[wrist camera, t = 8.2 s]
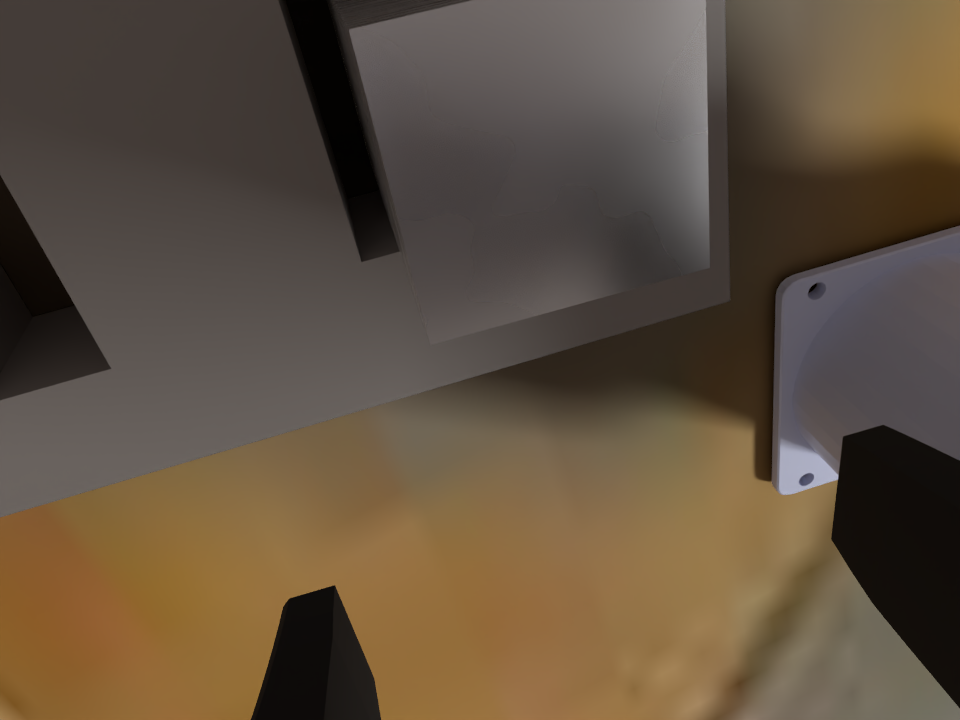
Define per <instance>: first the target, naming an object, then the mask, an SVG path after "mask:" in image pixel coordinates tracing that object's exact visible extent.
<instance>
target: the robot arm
mask: <svg viewBox="0 0 960 720" xmlns="http://www.w3.org/2000/svg"><path fill="white" fill-rule="evenodd" d="M816 283H817V286H816V288H815V289H814V290H813V291H811V292H810V293H808V292H809V289H810V288H811V287H812V285H814V284H816ZM834 480H838V485H837V493H836V502H835V511H834V520H833V529H832V538H831V539H832V541H833V543H834V544H835V546H836V547H837V549H838V551H839V552H840V554H841V555H842V557H843V559H844V560H845V562H846V563H847V565H848V567H849V568H850V570H851V571H852V573H853V575H854V576H855V578H856V579H857V581H858V582H859V584H860V585H861V587H862V588H863V590H864V591H865V592H866V594H867V595H868V597H869V598H870V600H871V601H872V603H873V604H874V605H875V607H876V608H877V609H878V610H879V612H880V613H881V614H882V615H883V617H884V618H885V619H886V620H887V622H888V623H889V624H890V625H891V626H892V628H893V629H894V630H895V631H896V632H897V634H898V635H899V636H900V637H901V639H902V640H903V641H904V642H905V643H906V645H907V646H908V647H909V648H910V649H911V651H912V652H913V653H914V654H915V655H916V657H917V658H918V659H919V660H920V661H921V663H922V664H923V665H924V666H925V667H926V669H927V670H928V671H929V672H930V673H931V674H932V676H933V677H934V678H935V679H936V680H937V682H938V683H939V684H940V685H941V686H942V688H943V689H944V690H945V691H946V692H947V694H948V695H949V696H950V697H951V698H952V700H953V701H954V702H955V703H956V704H957V705H958V707H959V708H960V226H956V227H953V228H950V229H946V230H943V231H939V232H936V233H933V234H929V235H926V236H922V237H919V238H916V239H912V240H909V241H906V242H902V243H899V244H895V245H892V246H889V247H885V248H882V249H878V250H875V251H872V252H868V253H865V254H862V255H858V256H855V257H851V258H848V259H845V260H841V261H838V262H834V263H831V264H828V265H824V266H821V267H818V268H814V269H811V270H807V271H804V272H801V273H797V274H794V275H792V276H789V277H787V278H786V279H785V280H784V281H783V282H781V284H780V285H779V287H778V289H777V292H776V304H775V351H774V398H773V445H772V485H773V487H774V488H775V489H776V490H777V491H778V492H779V493H780V494H782V495H790V494H794V493H797V492H800V491H803V490H806V489H809V488H813V487H816V486H819V485H822V484H825V483H828V482H831V481H834ZM251 720H381V717H380V711H379V705H378V699H377V693H376V687H375V681H374V677H373V675H372V672H371V670H370V667H369V665H368V663H367V660H366V658H365V656H364V653H363V651H362V649H361V646H360V644H359V641H358V639H357V637H356V634H355V632H354V630H353V627H352V625H351V623H350V620H349V618H348V615H347V613H346V611H345V608H344V606H343V604H342V601H341V599H340V597H339V594H338V592H337V589H336V587H335V585H334V586H331V587H327V588H324V589H320V590H317V591H314V592H310V593H307V594H303V595H300V596H297V597H293V598H290V599H289V600H288V601H287V602H286V604H285V605H284V607H283V610H282V614H281V619H280V623H279V627H278V631H277V635H276V638H275V642H274V646H273V649H272V653H271V657H270V660H269V664H268V667H267V670H266V674H265V677H264V680H263V684H262V687H261V690H260V693H259V696H258V700H257V703H256V706H255V709H254V712H253V715H252V718H251Z"/></svg>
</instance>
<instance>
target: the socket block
mask: <svg viewBox="0 0 960 720" xmlns="http://www.w3.org/2000/svg"><path fill="white" fill-rule="evenodd" d="M706 39H707V108H708V176H709V245H710V268H708V269H704V270H701V271H697V272H693V273H690V274H686V275H683V276H679V277H675V278H672V279H668V280H664V281H661V282H657V283H654V284H650V285H646V286H643V287H639V288H635V289H632V290H628V291H625V292H621V293H617V294H614V295H610V296H606V297H603V298H599V299H596V300H592V301H588V302H585V303H581V304H577V305H574V306H570V307H567V308H563V309H559V310H556V311H552V312H548V313H545V314H541V315H538V316H534V317H530V318H527V319H523V320H519V321H516V322H512V323H509V324H505V325H501V326H498V327H494V328H490V329H487V330H483V331H480V332H476V333H472V334H469V335H465V336H461V337H458V338H454V339H451V340H447V341H443V342H440V343H436V344H432V345H430V342H429V339H428V336H427V333H426V330H425V327H424V324H423V321H422V318H421V315H420V312H419V309H418V306H417V303H416V300H415V297H414V294H413V291H412V288H411V285H410V282H409V279H408V276H407V273H406V270H405V267H404V264H403V261H402V257H401V254H400V251H399V248H398V245H397V242H396V239H395V236H394V233H393V230H392V227H391V224H390V221H389V218H388V215H387V212H386V209H385V206H384V203H383V200H382V197H381V194H380V191H379V190H378V191H375V192H371V193H368V194H364V195H360V196H357V197H353V198H349V199H348V198H347V195H346V192H345V189H344V185H343V182H342V179H341V176H340V173H339V169H338V166H337V163H336V160H335V157H334V153H333V150H332V147H331V144H330V141H329V137H328V134H327V131H326V128H325V125H324V122H323V118H322V115H321V112H320V109H319V106H318V102H317V99H316V96H315V93H314V90H313V86H312V83H311V80H310V77H309V74H308V70H307V67H306V64H305V61H304V58H303V54H302V51H301V48H300V45H299V42H298V38H297V35H296V32H295V29H294V26H293V23H292V19H291V16H290V13H289V10H288V7H287V3H286V0H0V175H1V177H2V179H3V181H4V182H5V184H6V186H7V188H8V189H9V191H10V193H11V194H12V196H13V198H14V200H15V201H16V203H17V205H18V207H19V208H20V210H21V212H22V214H23V215H24V217H25V219H26V221H27V222H28V224H29V226H30V228H31V229H32V231H33V233H34V235H35V236H36V238H37V240H38V242H39V243H40V245H41V247H42V249H43V250H44V252H45V254H46V256H47V257H48V259H49V261H50V263H51V264H52V266H53V268H54V270H55V271H56V273H57V275H58V277H59V278H60V280H61V282H62V284H63V285H64V287H65V289H66V291H67V292H68V294H69V296H70V298H71V299H72V301H73V303H74V304H75V305H74V306H71V307H67V308H64V309H60V310H56V311H53V312H49V313H46V314H42V315H38V316H35V317H32V315H31V313H30V312H29V310H28V308H27V307H26V305H25V303H24V302H23V300H22V299H21V297H20V295H19V294H18V292H17V290H16V289H15V287H14V286H13V284H12V282H11V281H10V279H9V277H8V276H7V274H6V273H5V271H4V269H3V268H2V266H1V264H0V517H3V516H6V515H10V514H13V513H16V512H20V511H23V510H27V509H30V508H33V507H37V506H40V505H43V504H47V503H50V502H54V501H57V500H60V499H64V498H67V497H70V496H74V495H77V494H81V493H84V492H87V491H91V490H94V489H97V488H101V487H104V486H108V485H111V484H114V483H118V482H121V481H124V480H128V479H131V478H135V477H138V476H141V475H145V474H148V473H151V472H155V471H158V470H162V469H165V468H168V467H172V466H175V465H178V464H182V463H185V462H189V461H192V460H195V459H199V458H202V457H205V456H209V455H212V454H216V453H219V452H222V451H226V450H229V449H232V448H236V447H239V446H243V445H246V444H249V443H253V442H256V441H259V440H263V439H266V438H270V437H273V436H276V435H280V434H283V433H287V432H290V431H293V430H297V429H300V428H303V427H307V426H310V425H314V424H317V423H320V422H324V421H327V420H330V419H334V418H337V417H341V416H344V415H347V414H351V413H354V412H357V411H361V410H364V409H368V408H371V407H374V406H378V405H381V404H384V403H388V402H391V401H395V400H398V399H401V398H405V397H408V396H411V395H415V394H418V393H422V392H425V391H428V390H432V389H435V388H438V387H442V386H445V385H449V384H452V383H455V382H459V381H462V380H465V379H469V378H472V377H476V376H479V375H482V374H486V373H489V372H492V371H496V370H499V369H503V368H506V367H509V366H513V365H516V364H519V363H523V362H526V361H530V360H533V359H536V358H540V357H543V356H546V355H550V354H553V353H557V352H560V351H563V350H567V349H570V348H573V347H577V346H580V345H584V344H587V343H590V342H594V341H597V340H600V339H604V338H607V337H611V336H614V335H617V334H621V333H624V332H628V331H631V330H634V329H638V328H641V327H644V326H648V325H651V324H655V323H658V322H661V321H665V320H668V319H671V318H675V317H678V316H682V315H685V314H688V313H692V312H695V311H698V310H702V309H705V308H709V307H712V306H715V305H719V304H722V303H725V302H729V301H730V256H729V197H728V138H727V78H726V19H725V0H706Z"/></svg>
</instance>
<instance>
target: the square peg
mask: <svg viewBox="0 0 960 720" xmlns="http://www.w3.org/2000/svg"><path fill="white" fill-rule="evenodd" d="M327 3H328V7H329V11H330V14H331V18H332V22H333V26H334V29H335V33H336V37H337V40H338V44H339V48H340V52H341V55H342V59H343V63H344V67H345V70H346V74H347V78H348V81H349V85H350V89H351V93H352V96H353V100H354V104H355V107H356V111H357V115H358V119H359V122H360V126H361V130H362V134H363V137H364V141H365V145H366V148H367V152H368V156H369V160H370V163H371V167H372V170H373V173H374V176H375V179H376V182H377V185H378V188H379V191H380V194H381V197H382V200H383V203H384V206H385V209H386V212H387V215H388V218H389V221H390V224H391V227H392V230H393V233H394V236H395V239H396V242H397V245H398V248H399V251H400V254H401V257H402V261H403V264H404V267H405V270H406V273H407V276H408V279H409V282H410V285H411V288H412V291H413V294H414V297H415V300H416V303H417V306H418V309H419V312H420V315H421V318H422V321H423V324H424V327H425V330H426V333H427V336H428V339H429V342H430V345H432V344H436V343H440V342H443V341H447V340H451V339H454V338H458V337H461V336H465V335H469V334H472V333H476V332H480V331H483V330H487V329H490V328H494V327H498V326H501V325H505V324H509V323H512V322H516V321H519V320H523V319H527V318H530V317H534V316H538V315H541V314H545V313H548V312H552V311H556V310H559V309H563V308H567V307H570V306H574V305H577V304H581V303H585V302H588V301H592V300H596V299H599V298H603V297H606V296H610V295H614V294H617V293H621V292H625V291H628V290H632V289H635V288H639V287H643V286H646V285H650V284H654V283H657V282H661V281H664V280H668V279H672V278H675V277H679V276H683V275H686V274H690V273H693V272H697V271H701V270H704V269H708V268H710V245H709V176H708V108H707V39H706V0H327Z"/></svg>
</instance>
